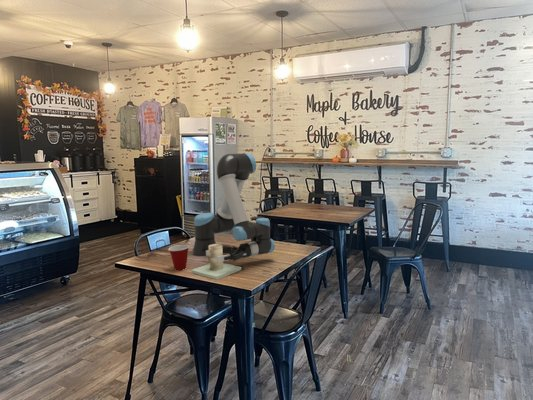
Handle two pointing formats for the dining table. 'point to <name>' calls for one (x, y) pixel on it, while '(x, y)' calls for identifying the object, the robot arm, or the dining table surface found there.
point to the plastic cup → (179, 256)
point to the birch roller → (215, 257)
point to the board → (218, 274)
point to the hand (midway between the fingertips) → (211, 256)
